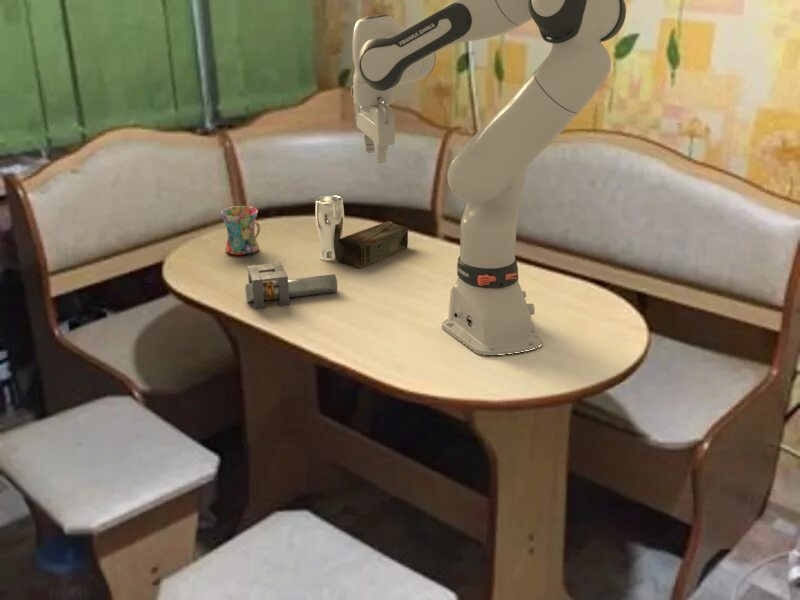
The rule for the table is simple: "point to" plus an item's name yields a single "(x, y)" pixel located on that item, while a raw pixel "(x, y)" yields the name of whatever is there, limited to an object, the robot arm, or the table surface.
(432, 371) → the table surface
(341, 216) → the beer glass
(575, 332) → the table surface
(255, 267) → the gray four-legged stand
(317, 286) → the tube
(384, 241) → the dark wooden box
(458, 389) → the table surface
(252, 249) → the mug
